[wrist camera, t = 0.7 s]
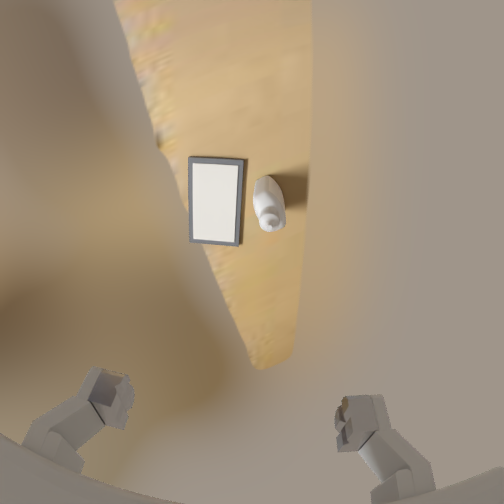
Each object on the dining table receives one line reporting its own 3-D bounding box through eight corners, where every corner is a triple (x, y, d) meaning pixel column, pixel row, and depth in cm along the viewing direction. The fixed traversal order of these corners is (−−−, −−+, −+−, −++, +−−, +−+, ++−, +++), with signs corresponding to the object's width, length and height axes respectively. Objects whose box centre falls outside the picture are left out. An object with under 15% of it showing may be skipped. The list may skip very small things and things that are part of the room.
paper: (192, 162, 42) (192, 163, 42) (238, 165, 42) (238, 165, 42) (193, 238, 48) (193, 238, 48) (234, 241, 48) (234, 242, 48)
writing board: (189, 156, 42) (188, 157, 42) (243, 159, 42) (243, 160, 42) (190, 240, 49) (189, 242, 49) (238, 244, 49) (238, 246, 49)
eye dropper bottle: (285, 175, 43) (290, 205, 33) (283, 210, 46) (287, 250, 35) (255, 174, 43) (250, 203, 33) (254, 209, 46) (249, 248, 36)
